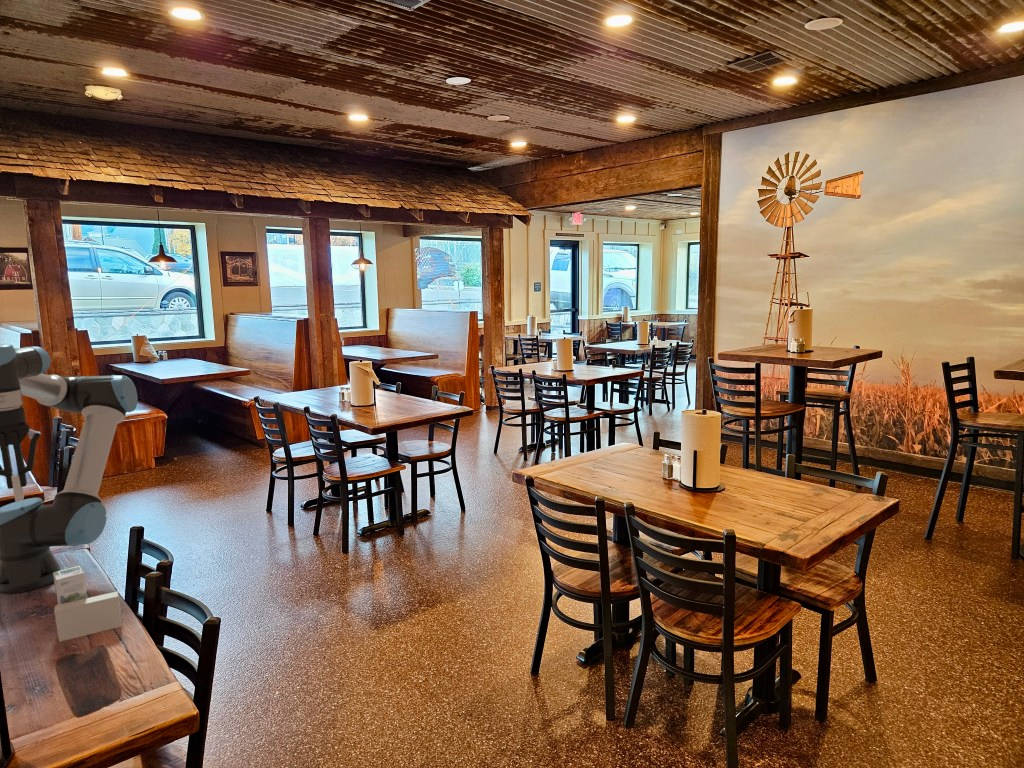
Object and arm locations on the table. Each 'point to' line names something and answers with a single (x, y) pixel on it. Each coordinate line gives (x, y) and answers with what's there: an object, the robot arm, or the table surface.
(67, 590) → the syrup box
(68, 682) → the wooden tablet
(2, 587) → the robot arm
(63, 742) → the table surface
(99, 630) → the board
